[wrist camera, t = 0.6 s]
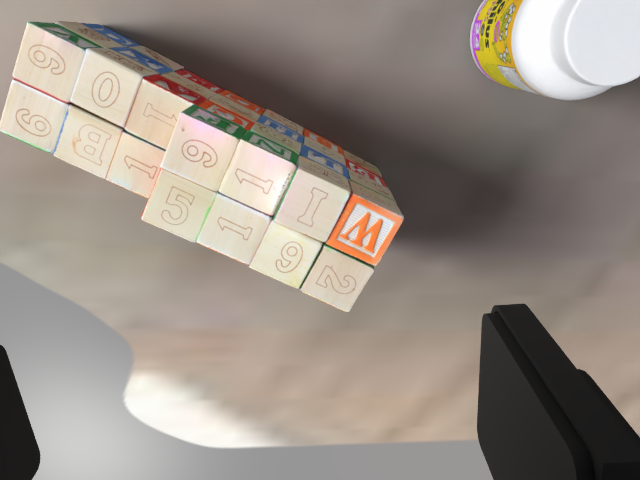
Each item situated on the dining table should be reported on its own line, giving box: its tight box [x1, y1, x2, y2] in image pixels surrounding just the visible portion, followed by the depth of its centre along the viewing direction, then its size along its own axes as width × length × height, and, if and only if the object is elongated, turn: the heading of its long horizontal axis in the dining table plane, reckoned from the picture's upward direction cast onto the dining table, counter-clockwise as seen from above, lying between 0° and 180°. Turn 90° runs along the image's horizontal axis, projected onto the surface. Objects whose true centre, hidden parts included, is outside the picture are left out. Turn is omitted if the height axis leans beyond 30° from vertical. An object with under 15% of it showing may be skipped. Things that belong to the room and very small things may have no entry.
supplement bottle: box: [470, 0, 640, 100], centre depth 29 cm, size 7×7×13 cm
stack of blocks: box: [0, 21, 404, 312], centre depth 31 cm, size 21×6×12 cm, turn 63°
